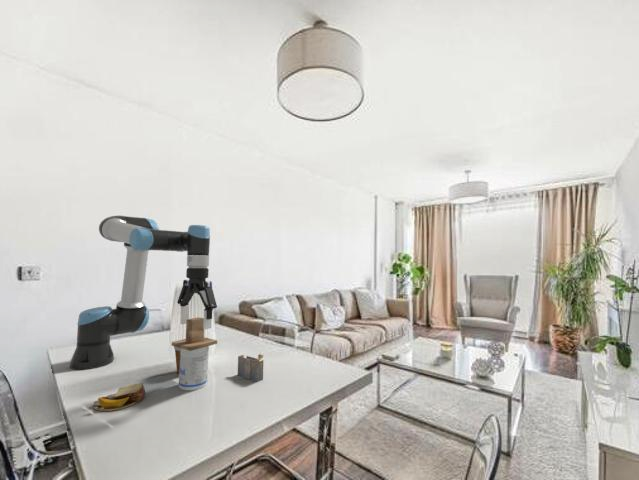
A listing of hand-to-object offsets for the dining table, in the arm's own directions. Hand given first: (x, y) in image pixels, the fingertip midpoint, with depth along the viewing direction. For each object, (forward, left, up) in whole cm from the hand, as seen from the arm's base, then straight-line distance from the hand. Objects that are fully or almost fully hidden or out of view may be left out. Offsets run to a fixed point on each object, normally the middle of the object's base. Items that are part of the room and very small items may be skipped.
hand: (195, 326), depth 112 cm
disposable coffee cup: (-14, +6, -21) cm, 26 cm away
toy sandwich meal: (-7, -21, -22) cm, 31 cm away
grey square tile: (-12, -8, -21) cm, 26 cm away
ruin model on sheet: (+10, +18, -22) cm, 30 cm away
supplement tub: (0, 0, -21) cm, 21 cm away
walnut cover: (0, 0, -7) cm, 7 cm away
